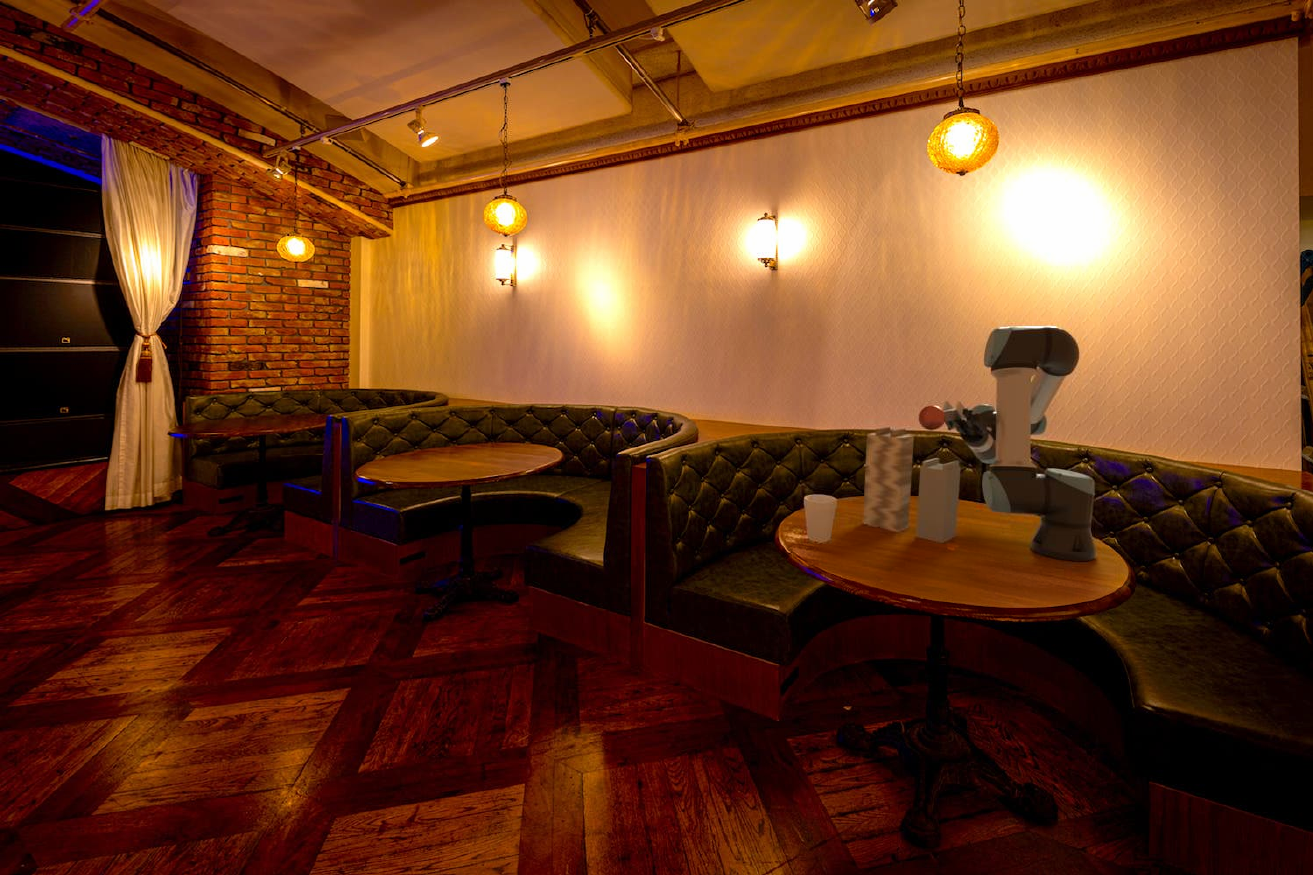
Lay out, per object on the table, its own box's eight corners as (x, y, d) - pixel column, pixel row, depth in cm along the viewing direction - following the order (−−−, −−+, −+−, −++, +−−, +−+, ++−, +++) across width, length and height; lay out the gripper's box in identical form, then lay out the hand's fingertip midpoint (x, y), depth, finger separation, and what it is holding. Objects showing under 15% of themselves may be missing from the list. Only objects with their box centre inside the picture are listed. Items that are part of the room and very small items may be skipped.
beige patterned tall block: (908, 527, 192) (914, 429, 187) (897, 532, 187) (903, 431, 182) (873, 519, 201) (878, 426, 196) (862, 523, 196) (867, 428, 191)
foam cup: (838, 545, 175) (840, 502, 173) (807, 545, 176) (808, 502, 174) (829, 535, 185) (831, 494, 183) (800, 535, 185) (801, 494, 183)
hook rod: (973, 424, 183) (975, 401, 182) (942, 431, 169) (943, 406, 168) (950, 422, 189) (951, 400, 188) (918, 428, 175) (919, 405, 174)
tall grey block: (955, 536, 183) (961, 461, 179) (942, 543, 177) (947, 465, 173) (929, 530, 189) (934, 457, 185) (916, 536, 183) (920, 461, 179)
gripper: (999, 450, 188) (976, 419, 173) (948, 444, 200) (921, 414, 185) (1006, 429, 189) (983, 396, 174) (954, 424, 201) (928, 393, 187)
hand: (951, 405), depth 180 cm, fingers closed on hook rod, 3 cm apart
